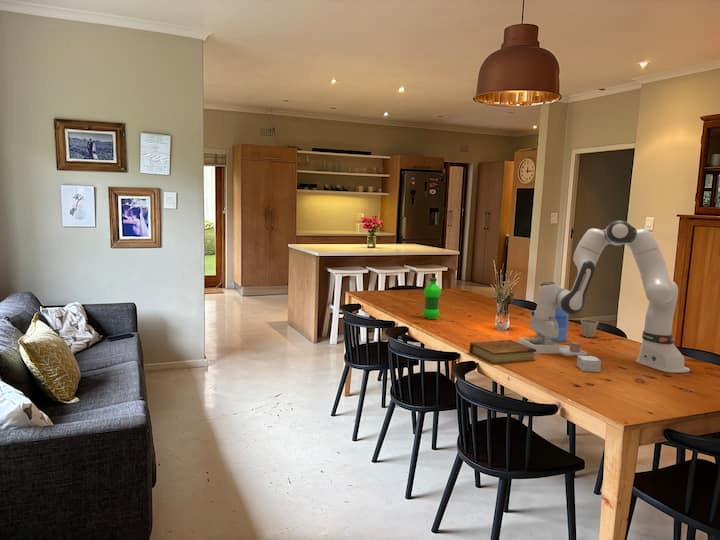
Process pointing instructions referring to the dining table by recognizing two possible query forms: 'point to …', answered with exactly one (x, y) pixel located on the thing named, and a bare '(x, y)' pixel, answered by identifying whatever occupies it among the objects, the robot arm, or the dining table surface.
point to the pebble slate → (541, 340)
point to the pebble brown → (574, 347)
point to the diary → (502, 351)
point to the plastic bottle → (431, 299)
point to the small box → (589, 363)
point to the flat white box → (540, 346)
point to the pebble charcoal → (535, 342)
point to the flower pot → (588, 327)
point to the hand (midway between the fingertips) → (542, 342)
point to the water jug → (560, 325)
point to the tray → (566, 352)
